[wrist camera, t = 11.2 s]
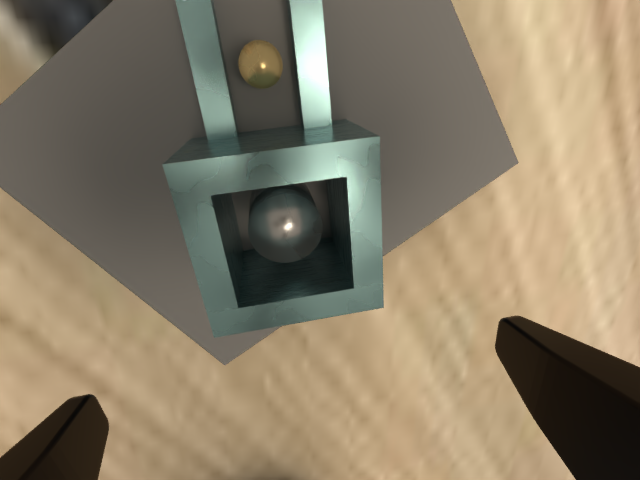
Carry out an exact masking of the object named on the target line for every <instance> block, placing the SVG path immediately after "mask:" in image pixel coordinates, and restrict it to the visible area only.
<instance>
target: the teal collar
mask: <svg viewBox="0 0 640 480" xmlns="http://www.w3.org/2000/svg"><path fill="white" fill-rule="evenodd" d="M175 1H176V6H177V10H178V14H179V18H180V23H181V27H182V31H183V36H184V40H185V44H186V48H187V53H188V57H189V61H190V66H191V70H192V74H193V78H194V83H195V87H196V91H197V96H198V100H199V104H200V108H201V113H202V117H203V121H204V126H205V130H206V134H207V137H199V138H191V139H190V140H189V141H188V142H186V143H185V144H184V145H183V146H182V147H181V148H180V149H179V150H178V151H177V152H175V153H174V154H173V155H172V156H171V157H170V158H169V159H168V160H167V161H166V162H164V163H163V164H162V165H163V168H164V172H165V175H166V178H167V182H168V185H169V188H170V192H171V195H172V198H173V202H174V205H175V209H176V212H177V215H178V219H179V222H180V225H181V229H182V232H183V235H184V239H185V242H186V245H187V249H188V252H189V255H190V259H191V262H192V266H193V269H194V272H195V276H196V279H197V282H198V286H199V289H200V292H201V296H202V299H203V302H204V306H205V309H206V312H207V316H208V319H209V323H210V326H211V329H212V333H213V336H214V338H216V337H222V336H227V335H233V334H239V333H244V332H250V331H255V330H261V329H267V328H272V327H278V326H283V325H289V324H295V323H300V322H306V321H311V320H317V319H323V318H328V317H334V316H339V315H345V314H351V313H356V312H362V311H367V310H373V309H379V308H384V302H383V257H382V212H381V167H380V136H379V135H377V134H375V133H373V132H371V131H369V130H367V129H365V128H363V127H361V126H359V125H357V124H355V123H353V122H351V121H349V120H347V119H344V120H336V121H332V118H331V106H330V93H329V81H328V68H327V56H326V43H325V30H324V18H323V5H322V0H287V8H288V16H289V25H290V34H291V42H292V51H293V59H294V68H295V76H296V85H297V94H298V102H299V111H300V119H301V125H295V126H287V127H279V128H271V129H263V130H255V131H247V132H239V130H238V125H237V120H236V115H235V110H234V105H233V99H232V94H231V89H230V84H229V79H228V74H227V68H226V63H225V58H224V53H223V48H222V43H221V37H220V32H219V27H218V22H217V17H216V11H215V6H214V1H213V0H175ZM325 179H326V185H327V195H328V206H329V217H330V228H331V237H327V238H321V239H320V242H319V243H318V245H317V247H316V248H315V249H314V250H313V251H312V252H311V253H310V254H309V255H308V256H306V257H304V258H302V259H300V260H298V261H294V262H288V263H280V262H275V261H271V260H269V259H267V258H265V257H263V256H262V255H260V254H259V253H258V252H257V251H256V250H255V249H250V250H244V249H243V245H242V240H241V236H240V231H239V227H238V222H237V217H236V213H235V208H234V204H233V199H232V195H231V193H232V192H239V191H247V190H254V189H261V188H268V187H275V186H282V185H289V184H297V183H304V182H311V181H318V180H325Z"/></svg>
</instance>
